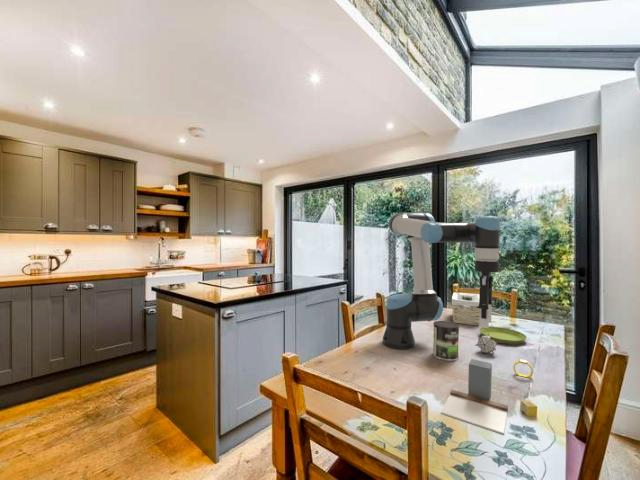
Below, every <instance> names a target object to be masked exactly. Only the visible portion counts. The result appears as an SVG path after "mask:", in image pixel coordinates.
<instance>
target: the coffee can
mask: <svg viewBox="0 0 640 480" xmlns="http://www.w3.org/2000/svg"><path fill="white" fill-rule="evenodd" d="M432 324H433V343H432V345H433V346H432V347H433V348H432V349H433V351H432V352H433V357H435V358H437V359H439V360H441V361H447V362H453V361H454V362H455V361H457V360H459V339H460V338H459V333H460V332H459V330H460V325H459V323H455V322H454V321H448V320H434V322H433V323H432Z"/></svg>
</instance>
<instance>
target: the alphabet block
mask: <svg viewBox="0 0 640 480" xmlns="http://www.w3.org/2000/svg"><path fill="white" fill-rule="evenodd" d="M519 402H520V404H519V405H520V406H519V410H520V411H522V413H524V414H525V415H526V416H527V417H538V405H536V404H534V403H533V402H532V401H531V400H528V399H527V400H524V399H523V400H522V399H521V400H520V401H519Z"/></svg>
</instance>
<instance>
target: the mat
mask: <svg viewBox="0 0 640 480" xmlns="http://www.w3.org/2000/svg"><path fill="white" fill-rule="evenodd" d="M440 414H442V415H444V416H447V417H451V418H454V419H457V420H460V421H463V422H465V423H469V424H472V425H475V426H477V427H480V428H483V429H485V430H489V431H493V432H495V433H498V434H502V435H505V429H506V425H507V424H506V423H507V418H508V412H507V411H504V410H501V409H497V408H494V407H491V406H487V405H484V404H481V403H477V402H474V401H471V400H467V399H464V398H460V397H457V396H454V395H450V394H449V396H448V398H447V400H446V401H445V404H444V405H443V407H442V409H441V411H440Z"/></svg>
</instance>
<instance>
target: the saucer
mask: <svg viewBox="0 0 640 480" xmlns="http://www.w3.org/2000/svg"><path fill="white" fill-rule="evenodd" d="M478 330H479V333H480V335H481V336H487V335H488V334H489V336H490V337H491V338H493V340H494V341H495V342H496V343H497V342H498V344H503V345H519V344H522V343H524V342H525V341H526V340H527V338H528V337H527V335H525V334H524V333H523V332H520V331H518V330H514V329H511V328H506V327H499V326H489V328H482V327H479V329H478Z"/></svg>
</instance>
